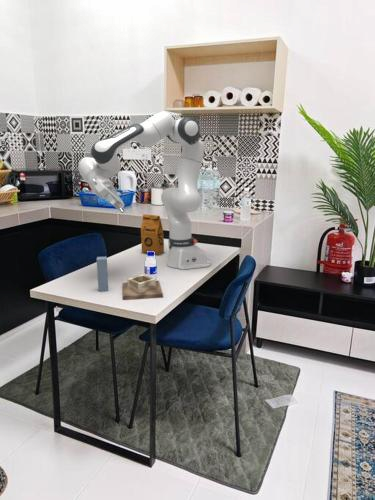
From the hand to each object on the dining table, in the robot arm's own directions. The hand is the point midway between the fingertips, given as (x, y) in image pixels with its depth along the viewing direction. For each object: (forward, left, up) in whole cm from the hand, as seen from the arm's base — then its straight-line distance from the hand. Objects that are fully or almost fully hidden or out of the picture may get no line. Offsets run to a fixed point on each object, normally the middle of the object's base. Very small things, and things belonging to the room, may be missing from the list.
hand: (119, 207), depth 167 cm
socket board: (-8, +12, -34) cm, 37 cm away
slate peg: (+8, +7, -34) cm, 35 cm away
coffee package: (-18, -47, -34) cm, 60 cm away
